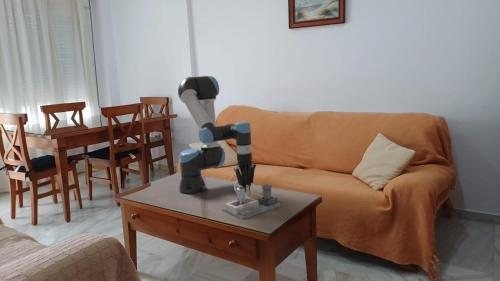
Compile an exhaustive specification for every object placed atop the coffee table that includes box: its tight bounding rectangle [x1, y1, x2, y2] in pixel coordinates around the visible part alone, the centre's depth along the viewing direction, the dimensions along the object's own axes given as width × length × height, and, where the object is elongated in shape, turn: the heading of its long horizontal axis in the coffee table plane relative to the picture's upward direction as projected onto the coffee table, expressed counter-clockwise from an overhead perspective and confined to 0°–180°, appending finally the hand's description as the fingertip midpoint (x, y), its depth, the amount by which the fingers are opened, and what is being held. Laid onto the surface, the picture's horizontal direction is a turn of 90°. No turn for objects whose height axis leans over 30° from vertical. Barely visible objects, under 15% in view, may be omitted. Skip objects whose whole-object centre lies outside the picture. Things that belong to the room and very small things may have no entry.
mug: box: [233, 179, 254, 194], centre depth 209 cm, size 12×8×10 cm
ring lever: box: [249, 191, 278, 206], centre depth 194 cm, size 18×7×2 cm, turn 38°
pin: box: [235, 186, 246, 206], centre depth 184 cm, size 4×4×10 cm
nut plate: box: [221, 184, 281, 220], centre depth 187 cm, size 16×24×10 cm, turn 128°
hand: (246, 197), depth 196 cm, fingers closed
